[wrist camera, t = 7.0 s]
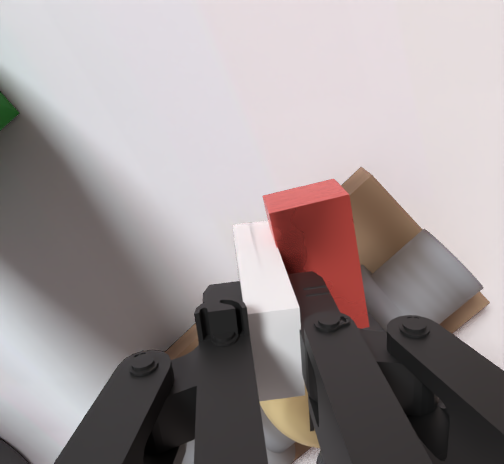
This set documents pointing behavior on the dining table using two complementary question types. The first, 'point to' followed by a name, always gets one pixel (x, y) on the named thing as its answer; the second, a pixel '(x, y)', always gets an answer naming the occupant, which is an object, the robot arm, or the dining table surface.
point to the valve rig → (373, 299)
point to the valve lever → (320, 242)
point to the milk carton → (6, 111)
